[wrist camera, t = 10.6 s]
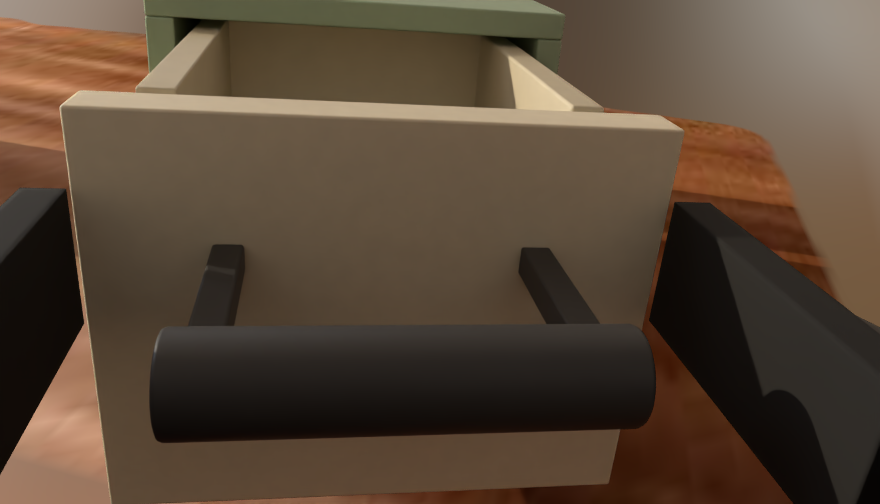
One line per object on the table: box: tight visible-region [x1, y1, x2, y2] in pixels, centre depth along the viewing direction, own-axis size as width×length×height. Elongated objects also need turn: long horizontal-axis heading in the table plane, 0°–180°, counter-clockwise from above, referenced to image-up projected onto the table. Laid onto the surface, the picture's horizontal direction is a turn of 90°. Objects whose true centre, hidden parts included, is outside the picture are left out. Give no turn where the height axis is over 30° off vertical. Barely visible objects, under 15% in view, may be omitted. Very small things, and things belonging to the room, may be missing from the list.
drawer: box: [60, 19, 684, 504], centre depth 19 cm, size 18×11×9 cm, turn 8°
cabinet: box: [144, 0, 565, 74], centre depth 31 cm, size 15×13×11 cm
